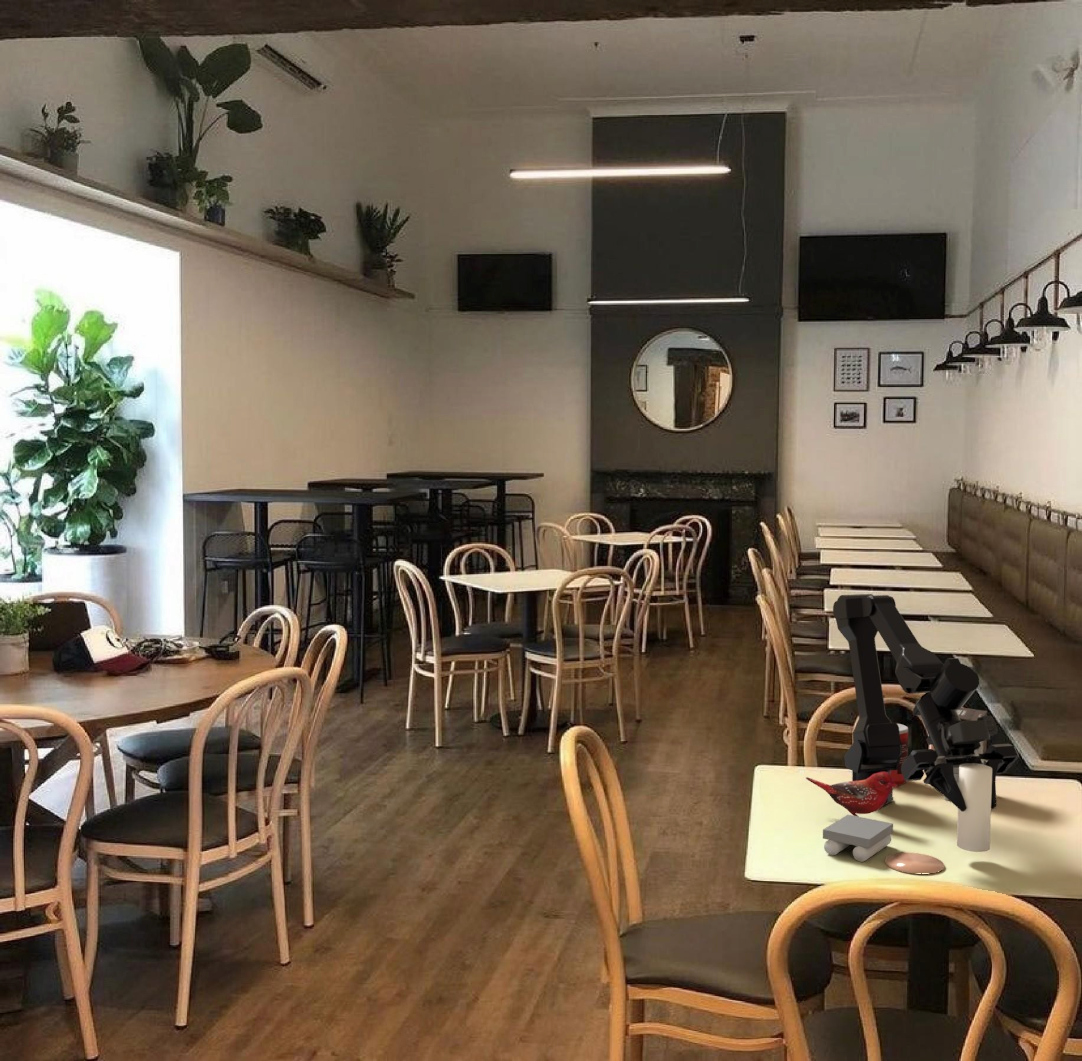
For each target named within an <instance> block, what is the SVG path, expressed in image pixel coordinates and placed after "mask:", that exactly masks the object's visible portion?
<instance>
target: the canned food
mask: <svg viewBox="0 0 1082 1061" xmlns="http://www.w3.org/2000/svg"><path fill="white" fill-rule="evenodd" d="M896 723H897V725H898V726H899V735H900V740H901V743H902V754H901V758H900V763H899V767H898V770H890V775H891V777H892V779H893V782H894V783H895V784H896V785H897V786H902V785H904V784H906V782H907V781H905V780H904V777H903V775H902V772H901V766H902V764H903V763H904V761H905V760H906V759H907V757H908V756H909V727H908V726H906V725H904V724H901V723H898V722H896Z"/></svg>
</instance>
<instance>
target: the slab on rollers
mask: <svg viewBox="0 0 1082 1061" xmlns="http://www.w3.org/2000/svg"><path fill="white" fill-rule="evenodd" d="M858 816H859V815H857V816H854V815H852V814H847V815H844V816H842V818H840V819H838V820H836V821H834V822H833V823H832V824H829V825H828V826H826V827H825V828H823V829H822V839H824V840H826V841H825V842H824V845H823V849H824V851H825V853H826V854H828V855H829V856H835V855H837V854H838V853H840V852H841V851H843V850H845V849H847V848H848V847H849V846H850V845H853V846H855V847H853V850H852V855H853V858H854V859H855V860H856V861H857V862H861V863H862V862H863V863H864V862H865V861H867V860H869V859H870V858H872V856H874V855H875V854H876V853H878V852H880V851H882V850H883V849H884V848H885V847H888V845H890V844H891V843H892V836H891V834H892V833H894V823H893V822H888V821H882V820H877V819H872V818H867V817H862V816H859V817H858Z"/></svg>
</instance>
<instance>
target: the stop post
mask: <svg viewBox="0 0 1082 1061" xmlns="http://www.w3.org/2000/svg"><path fill="white" fill-rule="evenodd" d="M959 789H960V791H961V794H962V796H963V798H964V801H965V804H966V810H965V811H961V810H960V809H959V808H957V825H956V826H957V830H956V832H957V833H956V835H957V836H956V846H957V847H958V848H959V849H961V850H964V851H968V852H976V853H983V852H988V851H990V848H991V826H992V825H991V823H992V822H991V818H992V817H991V816H992V809H991V793H992V768H991V767H989V766H987V765H983V764H975V763H966V764H961V765H960V766H959Z"/></svg>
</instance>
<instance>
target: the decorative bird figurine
mask: <svg viewBox="0 0 1082 1061" xmlns="http://www.w3.org/2000/svg"><path fill="white" fill-rule="evenodd" d="M805 779H806V780H807V781H809V782H810V783H812V784H813V785H815V786H817V787H819V788H821V789H822V790H823V791H825V793H827V794H828V795H829V797H830V798H831V799H832V800H833V802H835V803H836V804H838V805H839V806H841V807H843V808H844V809H846V811H848V812H849V813H850V815H853V816H858V817H860V816H859V815H868V814H871V813H875V812H877V811H879V810H880V809H881V808H883V807H884V806H885V805H884V803H885V802H886V800H887V798H888V796H889V794H890V793H891V790H892V787H893V788H898V785H896V784H895V783H894V782H893V779H892V777H891V775H890V774H889V773H887V772H879V773H875V774H873V775H871V776H870V777H869V778H867V779H865V780H860V781H852V780H849V781H842V782H838V783H834V784H827V783H824V782H822V781H820V780H819V781H818V780H816V779H813V778H810V777H805ZM883 805H884V806H883ZM882 806H883V807H882ZM858 814H859V815H858Z"/></svg>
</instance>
